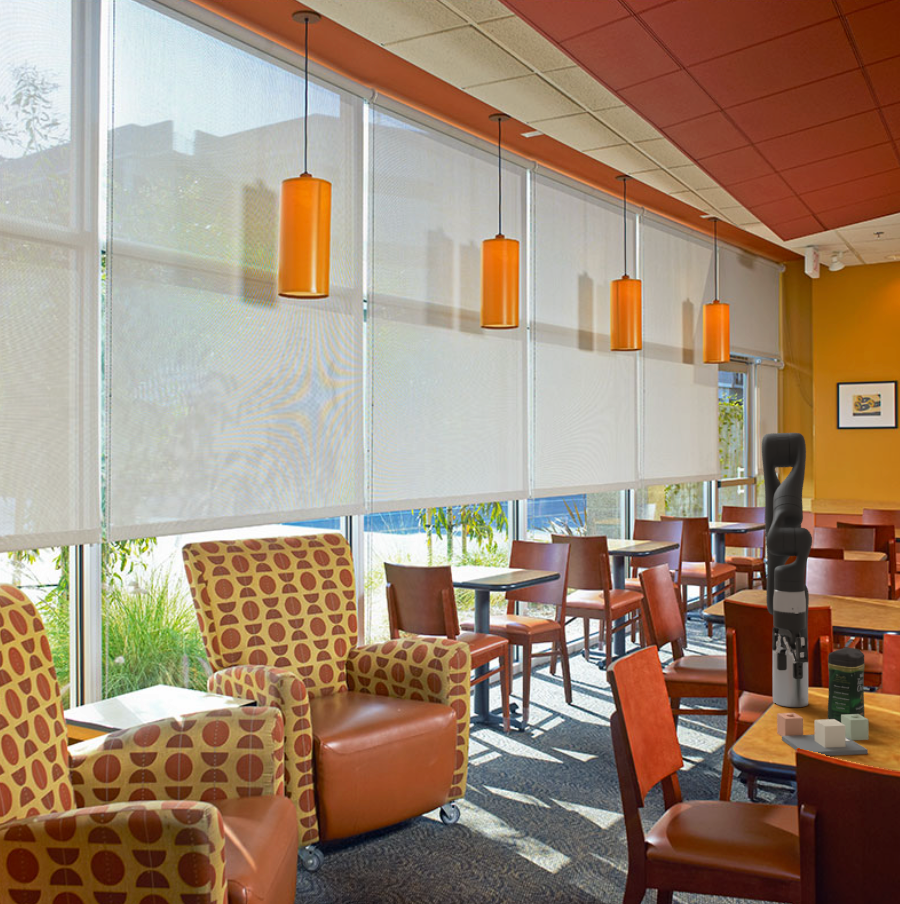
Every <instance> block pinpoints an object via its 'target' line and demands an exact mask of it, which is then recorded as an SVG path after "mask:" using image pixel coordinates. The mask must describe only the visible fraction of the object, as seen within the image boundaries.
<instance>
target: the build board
mask: <svg viewBox="0 0 900 904" xmlns="http://www.w3.org/2000/svg"><path fill="white" fill-rule="evenodd" d="M781 740H782V742H784V743H785V744H787V745H788V746H790V747H791V748H792V749H794V750H795V751H797V750H796V749H797V748H800V749H804V750H809V751H813V752H818V753H821V754H825V755H829V757H830V756H853V755H868V753H869V752H868V749H867V748H866V747H864V746H863V745H860V744H859V743H857V742H855V740H851V739H849V738H848V737H846V736H845V725H844V724H842V723H840V722H839V721H837V720H835V719H828V718H826V719H814V734H803V735H792V736H781Z"/></svg>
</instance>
